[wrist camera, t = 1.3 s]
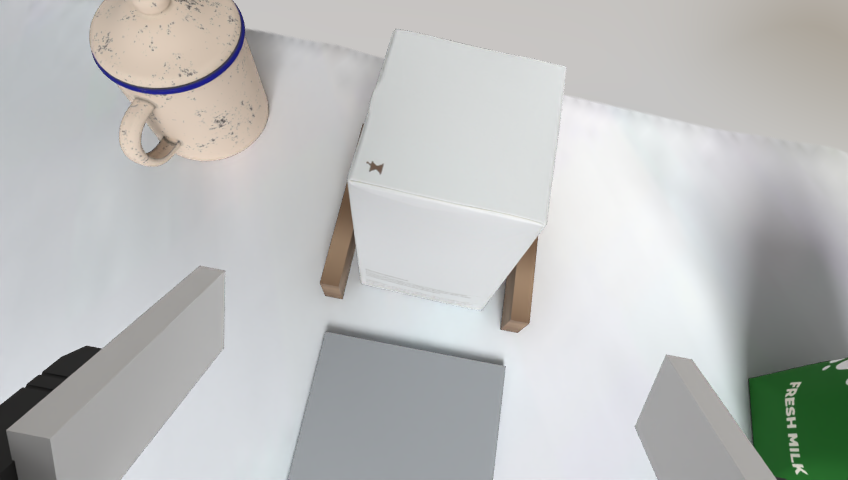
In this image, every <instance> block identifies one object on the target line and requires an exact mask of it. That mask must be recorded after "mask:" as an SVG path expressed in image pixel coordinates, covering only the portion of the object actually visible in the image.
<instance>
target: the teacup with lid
mask: <svg viewBox="0 0 848 480" xmlns="http://www.w3.org/2000/svg"><path fill="white" fill-rule="evenodd" d="M89 40H90V47H91V51H92V55H93V58H94V60H95V62H96V64H97V65H98V67H99V68H100V70H101V71H102V72H103V73H104V74H105V75H106V76H107V77H108V78H109V79H111V80H112V81H113V82H115V83H116V84H117V85H118V86H119V88H120V89H121V90H122V91H123V93H124V94H125V95H126V97H127V98H128V99H129V101H130V102H131V103H132V104H131V105H130V107H129V108H128V110H127V111H126V113H125V115H124V117H123V119H122V122H121V125H120V131H119V142H120V146H121V148H122V150H123V152H124V154H125V155H126V156H127V157H128V158H129V159H130V160H132V161H134V162H136V163H138V164H141V165H144V166H150V167H155V166H160V165H162V164H164V163H166V162H167V161H168V160H170V159H171V157H172V156H173V155H174V154H177V155H179V156H182V157H184V158H188V159H191V160H197V161H214V160H220V159H224V158H228V157H231V156H233V155H235V154H238V153H239V152H241V151H243V150H245V149H246V148H247V147H249V146H250V145H251V144H252V143H253V142H254V141H255V140H256V139H257V138H258V137H259V136H260V134H261V133H262V131H263V129H264V127H265V125H266V122H267V119H268V112H269V107H268V100H267V97H266V94H265V91H264V88H263V85H262V82H261V80H260V77H259V74H258V71H257V68H256V65H255V63H254V60H253V57H252V54H251V51H250V48H249V45H248V43H247V40H246V37H245V26H244V20H243V17H242V15H241V12H240V10H239V8H238V7H237V5H236V4H235V3H234V1H233V0H104V1H103V3H102V4H101V5H100V6H99V8H98V9H97V11H96V13H95V15H94V17H93V19H92V22H91V26H90V33H89ZM145 123H147V124H148V126H149V127H150V128H151V130H152V131H153V132H154V133H155V135H156V136H157V137H158V139H159V140H160V142H159V144H158V145H157V146H156V147H155V148H154V149H153V150H152V151H151V152H149V153H145V152H144V150H143V148H142V145H141V135H142V130H143V127H144V125H145Z"/></svg>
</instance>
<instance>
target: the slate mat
mask: <svg viewBox="0 0 848 480" xmlns="http://www.w3.org/2000/svg"><path fill="white" fill-rule="evenodd" d="M505 368H506V366H502V365H497V364H492V363H486V362H481V361H476V360H471V359H466V358H460V357H455V356H450V355H445V354H440V353H434V352H429V351H424V350H419V349H414V348H408V347H403V346H398V345H393V344H388V343H382V342H377V341H372V340H367V339H362V338H356V337H351V336H346V335H341V334H336V333H331V332H325V336H324V339H323V343H322V347H321V351H320V355H319V359H318V363H317V367H316V371H315V375H314V379H313V383H312V386H311V390H310V394H309V398H308V402H307V406H306V410H305V414H304V418H303V422H302V426H301V430H300V433H299V437H298V441H297V445H296V449H295V453H294V457H293V461H292V465H291V469H290V473H289V477H288V480H493V475H494V466H495V457H496V448H497V439H498V430H499V421H500V413H501V404H502V395H503V386H504V377H505Z"/></svg>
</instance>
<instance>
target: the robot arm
mask: <svg viewBox="0 0 848 480" xmlns="http://www.w3.org/2000/svg"><path fill="white" fill-rule="evenodd" d="M224 313H225V270H219V269H214V268H209V267H204V266H199V267H198V268H197V269H195V270H194V271H193V272H192V273H191V274H189V275H188V276H187V277H186V278H185V279H184V280H182V281H181V282H180V283H179V284H178V285H177V286H175V287H174V288H173V289H172V290H171V291H169V292H168V293H167V294H166V295H165V296H164V297H162V298H161V299H160V300H159V301H158V302H157V303H155V304H154V305H153V306H152V307H151V308H149V309H148V310H147V311H146V312H145V313H144V314H142V315H141V316H140V317H139V318H138V319H137V320H135V321H134V322H133V323H132V324H131V325H129V326H128V327H127V328H126V329H125V330H124V331H122V332H121V333H120V334H119V335H118V336H117V337H115V338H114V339H113V340H112V341H111V342H109V343H108V344H107V345H106V346H105V347H104V348H102V349H101V348H96V347H90V346H85V347H82V348H80V349H78V350H76V351H74V352H71V353H69V354H67V355H65V356H62V357H61V358H60V359H58V360H57V361H56V362H54V363H53V364H52V365H51V366H49V367H48V368H47V369H46V370H44V371H43V372H42V375H38V376H37V377H35V378H34V379H33V380H32V381H30V382H29V383H28V384H27V386H26V387H25V388H21V389H20V390H19V391H17V392H16V393H15V394H14V395H12V396H11V397H10V398H9V399H7V400H6V401H5V402H3V403H2V404H1V405H0V480H121V479H122V477H123V476H124V475H125V474H126V472H127V471H128V470H129V468H130V467H131V466H132V465H133V463H134V462H135V461H136V459H137V458H138V457H139V456H140V454H141V453H142V452H143V451H144V449H145V448H146V447H147V445H148V444H149V443H150V442H151V440H152V439H153V438H154V437H155V435H156V434H157V433H158V431H159V430H160V429H161V428H162V426H163V425H164V424H165V423H166V421H167V420H168V419H169V417H170V416H171V415H172V414H173V412H174V411H175V410H176V409H177V407H178V406H179V405H180V403H181V402H182V401H183V400H184V398H185V397H186V396H187V394H188V393H189V392H190V391H191V389H192V388H193V387H194V386H195V384H196V383H197V382H198V380H199V379H200V378H201V377H202V375H203V374H204V373H205V372H206V370H207V369H208V368H209V366H210V365H211V364H212V363H213V361H214V360H215V359H216V358H217V356H218V355H219V354H220V352H221V351H222V350H223V349H224ZM635 429H636V431H637V433H638V435H639V438H640V440H641V442H642V445H643V447H644V449H645V452H646V454H647V456H648V458H649V461H650V463H651V465H652V468H653V470H654V472H655V474H656V477H657V479H658V480H787V479H785V478H780V477H775V476H774V475H773V473H772V472H771V471H770V469H769V468H768V466H767V465H766V464H765V462H764V461H763V459H762V458H761V456H760V455H759V454H758V452H757V451H756V449H755V448H754V447H753V445H752V444H751V442H750V441H749V440H748V438H747V437H746V435H745V434H744V432H743V431H742V430H741V428H740V427H739V425H738V424H737V423H736V421H735V420H734V418H733V417H732V415H731V414H730V413H729V411H728V410H727V408H726V407H725V406H724V404H723V403H722V401H721V400H720V398H719V397H718V396H717V394H716V393H715V391H714V390H713V389H712V387H711V386H710V384H709V383H708V381H707V380H706V379H705V377H704V376H703V374H702V373H701V372H700V370H699V369H698V367H697V366H696V364H695V363H694V362H693V360H692V359H687V358H681V357H676V356H671V355H666V356H665V358H664V361H663V363H662V365H661V367H660V370H659V372H658V374H657V377H656V379H655V381H654V384H653V386H652V388H651V391H650V393H649V395H648V398H647V400H646V402H645V404H644V407H643V409H642V411H641V414H640V416H639V418H638V421H637V423H636V425H635Z"/></svg>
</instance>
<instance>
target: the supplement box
mask: <svg viewBox="0 0 848 480" xmlns="http://www.w3.org/2000/svg"><path fill="white" fill-rule="evenodd" d="M566 69H567V68H566V66H562V65H556V64H552V63H549V62H545V61H541V60H537V59H532V58H527V57H522V56H517V55H512V54H507V53H502V52H497V51H493V50H489V49H485V48H480V47H475V46H472V45H467V44H463V43H459V42H455V41H451V40H447V39H443V38H438V37H434V36H429V35H425V34H421V33H416V32H412V31H406V30H401V29H395V30H394V31H393V34H392V37H391V40H390V43H389V46H388V49H387V53H386V56H385V59H384V62H383V65H382V68H381V72H380V75H379V78H378V81H377V84H376V87H375V90H374V92H373V94H372V97H371V100H370V105H369V110H368V113H367V116H366V119H365V123H364V126H363V129H362V132H361V136H360V139H359V142H358V145H357V148H356V151H355V154H354V157H353V161H352V164H351V167H350V171H349V174H348V177H347V183H348V190H349V198H350V206H351V213H352V220H353V229H354V236H355V244H356V251H357V259H358V266H359V273H360V280H361V284H364V285H368V286H372V287H377V288H381V289H385V290H390V291H394V292H399V293H403V294H407V295H412V296H416V297H420V298H425V299H429V300H433V301H438V302H442V303H446V304H451V305H455V306H460V307H464V308H469V309H474V310H483V308H484V307H485V306H486V304H487V303H488V301H489V300H490V299H491V297H492V296H493V295H494V293H495V292H496V291H497V289H498V288H499V287H500V285H501V284H502V283H503V282H504V280H505V279H506V278H507V276H508V275H509V274H510V272H511V271H512V270H513V268H514V267H515V266H516V264H517V263H518V262H519V260H520V259H521V258H522V256H523V255H524V254H525V252H526V251H527V250H528V249H529V247H530V246H531V245H532V243H533V242H534V240H535V239H536V238H537V236H538V235H539V234H540V232H541V231H542V230H543V228H544V227H545V226H546V224H547V218H548V210H549V203H550V195H551V187H552V179H553V172H554V165H555V157H556V149H557V142H558V134H559V126H560V119H561V111H562V103H563V95H564V86H565V77H566Z"/></svg>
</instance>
